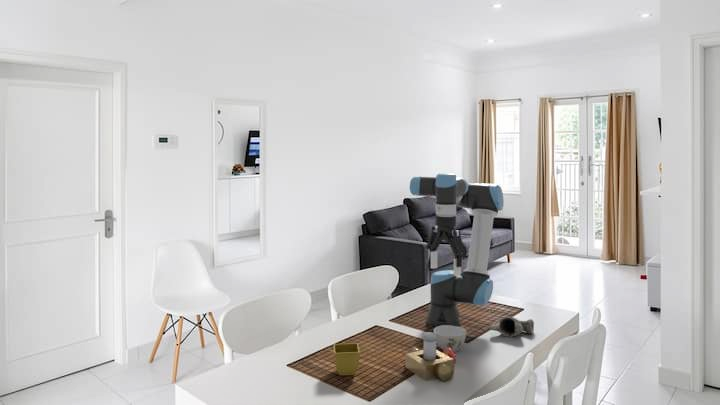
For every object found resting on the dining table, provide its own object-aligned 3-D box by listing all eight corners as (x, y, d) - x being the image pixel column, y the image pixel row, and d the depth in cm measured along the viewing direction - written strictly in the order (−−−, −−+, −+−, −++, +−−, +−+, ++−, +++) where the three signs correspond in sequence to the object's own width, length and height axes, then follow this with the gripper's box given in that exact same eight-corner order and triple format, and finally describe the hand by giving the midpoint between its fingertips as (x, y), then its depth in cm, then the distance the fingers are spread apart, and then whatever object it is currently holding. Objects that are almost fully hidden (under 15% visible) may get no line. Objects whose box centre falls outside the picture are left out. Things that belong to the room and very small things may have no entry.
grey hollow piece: (504, 349, 220) (495, 341, 209) (495, 330, 226) (486, 321, 214) (539, 333, 216) (532, 323, 205) (530, 314, 222) (522, 304, 210)
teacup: (454, 341, 208) (454, 322, 207) (473, 352, 196) (473, 332, 196) (422, 347, 202) (422, 328, 201) (439, 359, 190) (439, 338, 190)
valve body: (399, 363, 187) (399, 347, 186) (433, 355, 194) (433, 339, 194) (433, 385, 170) (433, 367, 169) (468, 374, 177) (469, 358, 177)
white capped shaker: (419, 366, 182) (420, 333, 181) (430, 363, 184) (431, 331, 183) (427, 371, 178) (428, 337, 177) (439, 368, 180) (439, 335, 179)
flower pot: (333, 367, 184) (333, 343, 183) (358, 366, 184) (357, 342, 184) (334, 378, 175) (334, 353, 174) (360, 377, 176) (360, 352, 175)
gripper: (417, 212, 199) (417, 266, 202) (460, 220, 178) (459, 280, 180) (433, 211, 203) (432, 264, 205) (476, 218, 181) (475, 277, 184)
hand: (445, 271), depth 193 cm, fingers open, 13 cm apart
